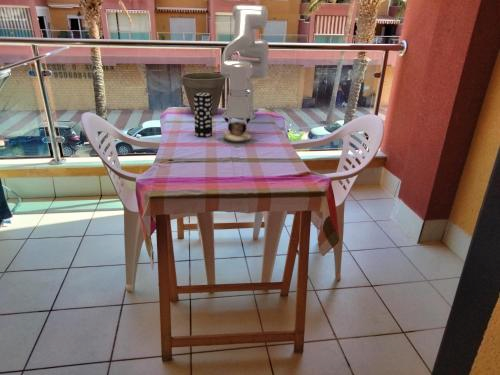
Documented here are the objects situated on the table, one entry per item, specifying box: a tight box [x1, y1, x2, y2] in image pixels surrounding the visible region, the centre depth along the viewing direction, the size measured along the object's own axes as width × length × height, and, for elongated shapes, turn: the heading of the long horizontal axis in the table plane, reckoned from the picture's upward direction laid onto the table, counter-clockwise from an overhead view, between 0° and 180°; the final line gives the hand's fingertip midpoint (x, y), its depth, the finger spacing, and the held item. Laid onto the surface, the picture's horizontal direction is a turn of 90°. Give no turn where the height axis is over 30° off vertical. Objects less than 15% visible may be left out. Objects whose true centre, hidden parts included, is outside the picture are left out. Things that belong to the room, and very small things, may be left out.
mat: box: [214, 136, 260, 148], centre depth 174 cm, size 15×15×1 cm
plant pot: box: [180, 72, 226, 116], centre depth 214 cm, size 25×25×22 cm
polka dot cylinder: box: [193, 93, 213, 139], centre depth 175 cm, size 8×8×20 cm
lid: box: [222, 121, 252, 141], centre depth 172 cm, size 13×13×6 cm
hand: (237, 131), depth 173 cm, fingers closed on lid, 5 cm apart
